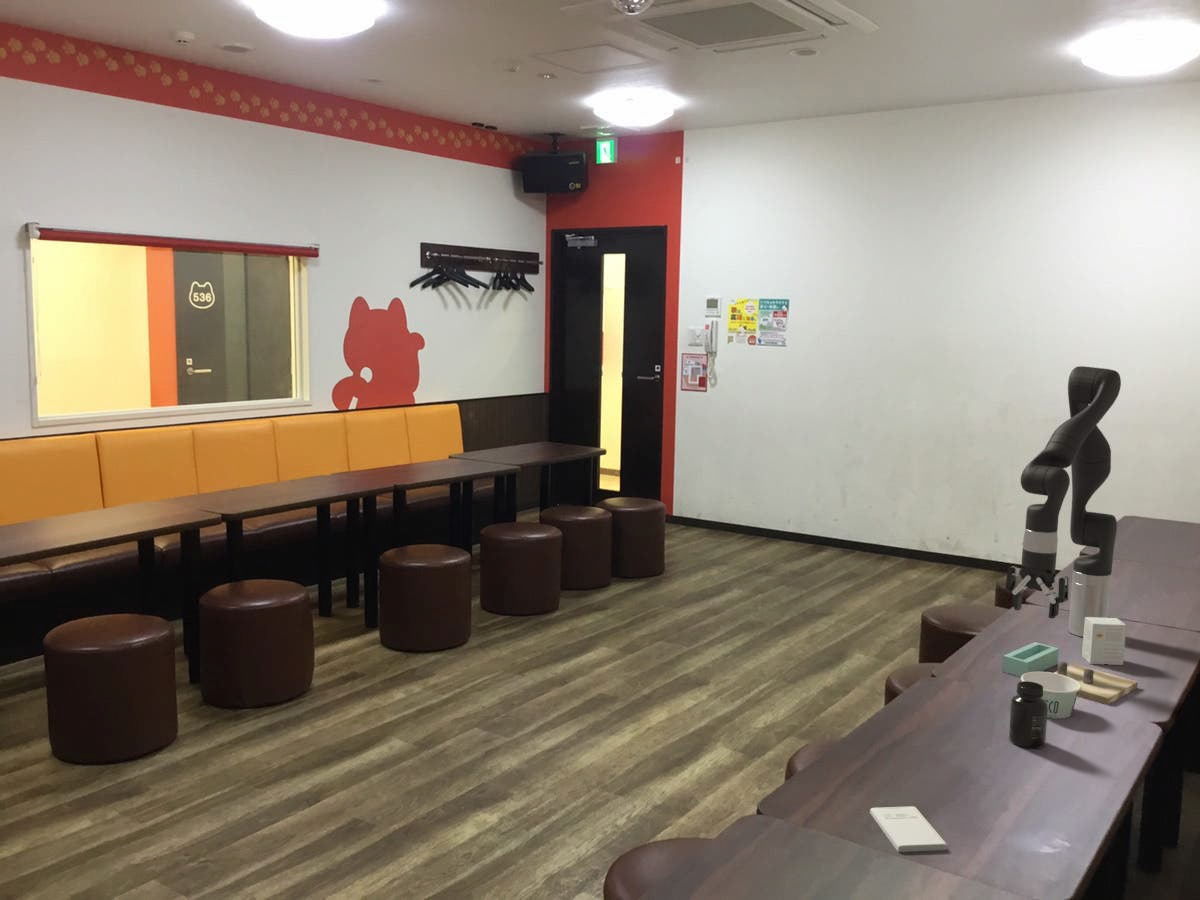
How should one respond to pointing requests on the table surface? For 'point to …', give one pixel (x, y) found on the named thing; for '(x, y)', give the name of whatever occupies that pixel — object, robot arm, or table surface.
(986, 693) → the table surface
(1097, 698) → the peg board
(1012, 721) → the supplement bottle
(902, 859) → the table surface
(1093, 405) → the robot arm
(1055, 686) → the food container
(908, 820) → the external hard drive
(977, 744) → the table surface
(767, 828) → the table surface
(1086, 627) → the small box
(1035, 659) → the teal rectangular frame
